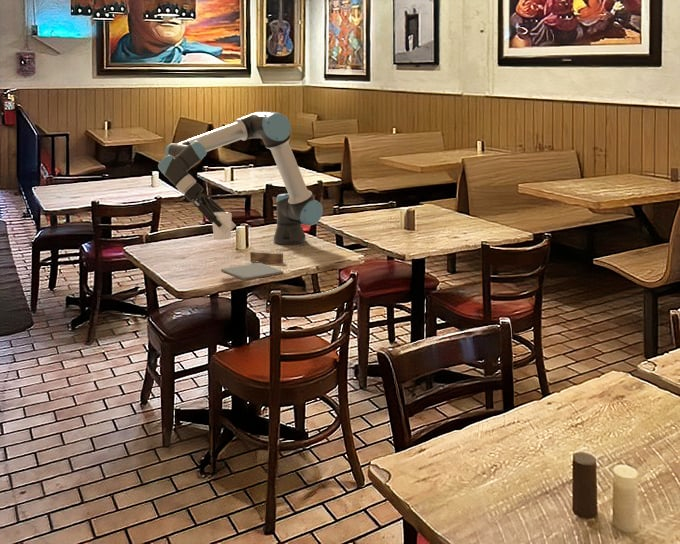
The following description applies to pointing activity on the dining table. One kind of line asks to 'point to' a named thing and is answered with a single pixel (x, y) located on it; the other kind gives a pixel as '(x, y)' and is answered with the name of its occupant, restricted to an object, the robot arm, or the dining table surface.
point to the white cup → (226, 219)
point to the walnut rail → (266, 257)
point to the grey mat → (251, 271)
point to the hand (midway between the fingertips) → (230, 229)
